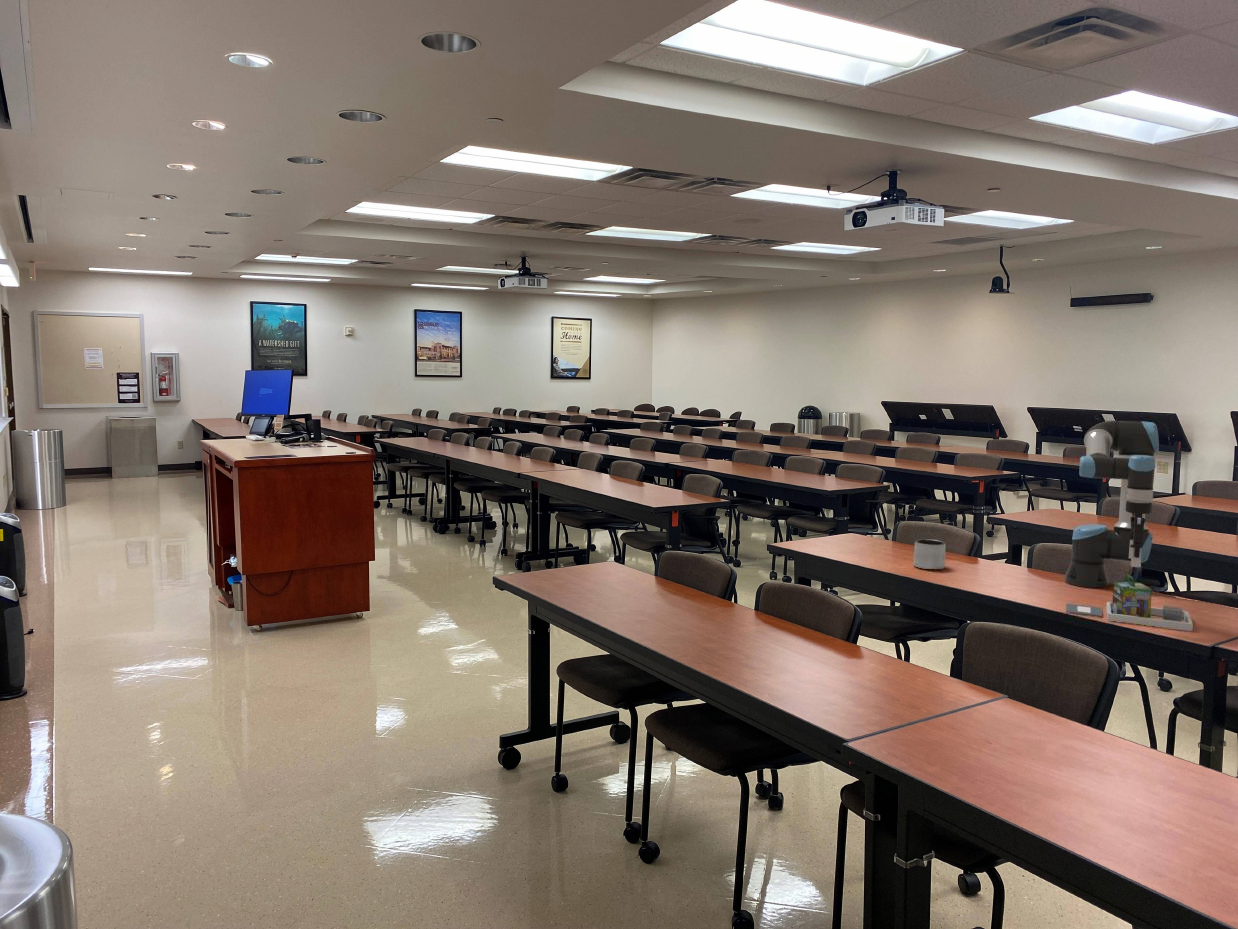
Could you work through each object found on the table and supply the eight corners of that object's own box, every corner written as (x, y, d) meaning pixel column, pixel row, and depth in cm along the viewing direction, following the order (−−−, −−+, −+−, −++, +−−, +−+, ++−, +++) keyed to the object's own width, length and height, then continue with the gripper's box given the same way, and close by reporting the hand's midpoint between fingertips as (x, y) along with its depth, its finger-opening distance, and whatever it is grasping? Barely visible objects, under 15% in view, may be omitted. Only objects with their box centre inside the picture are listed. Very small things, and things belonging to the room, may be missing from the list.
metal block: (1162, 620, 288) (1163, 605, 287) (1179, 622, 285) (1180, 607, 285) (1163, 624, 283) (1164, 609, 283) (1181, 626, 281) (1182, 611, 280)
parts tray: (1106, 608, 300) (1106, 601, 300) (1186, 618, 289) (1187, 611, 289) (1107, 620, 286) (1107, 613, 286) (1192, 631, 275) (1192, 624, 275)
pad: (1066, 605, 305) (1066, 603, 305) (1101, 609, 300) (1101, 607, 300) (1066, 613, 295) (1066, 611, 295) (1102, 617, 290) (1102, 615, 290)
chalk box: (1150, 622, 285) (1153, 579, 283) (1120, 621, 286) (1123, 578, 285) (1139, 614, 294) (1142, 573, 292) (1110, 613, 295) (1113, 571, 294)
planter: (947, 566, 363) (948, 540, 361) (941, 572, 352) (942, 546, 351) (917, 562, 369) (918, 537, 368) (910, 568, 359) (911, 542, 357)
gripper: (1124, 495, 298) (1120, 554, 300) (1127, 505, 276) (1123, 568, 278) (1149, 496, 294) (1144, 556, 297) (1155, 507, 272) (1150, 571, 275)
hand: (1134, 562), depth 287 cm, fingers open, 13 cm apart
